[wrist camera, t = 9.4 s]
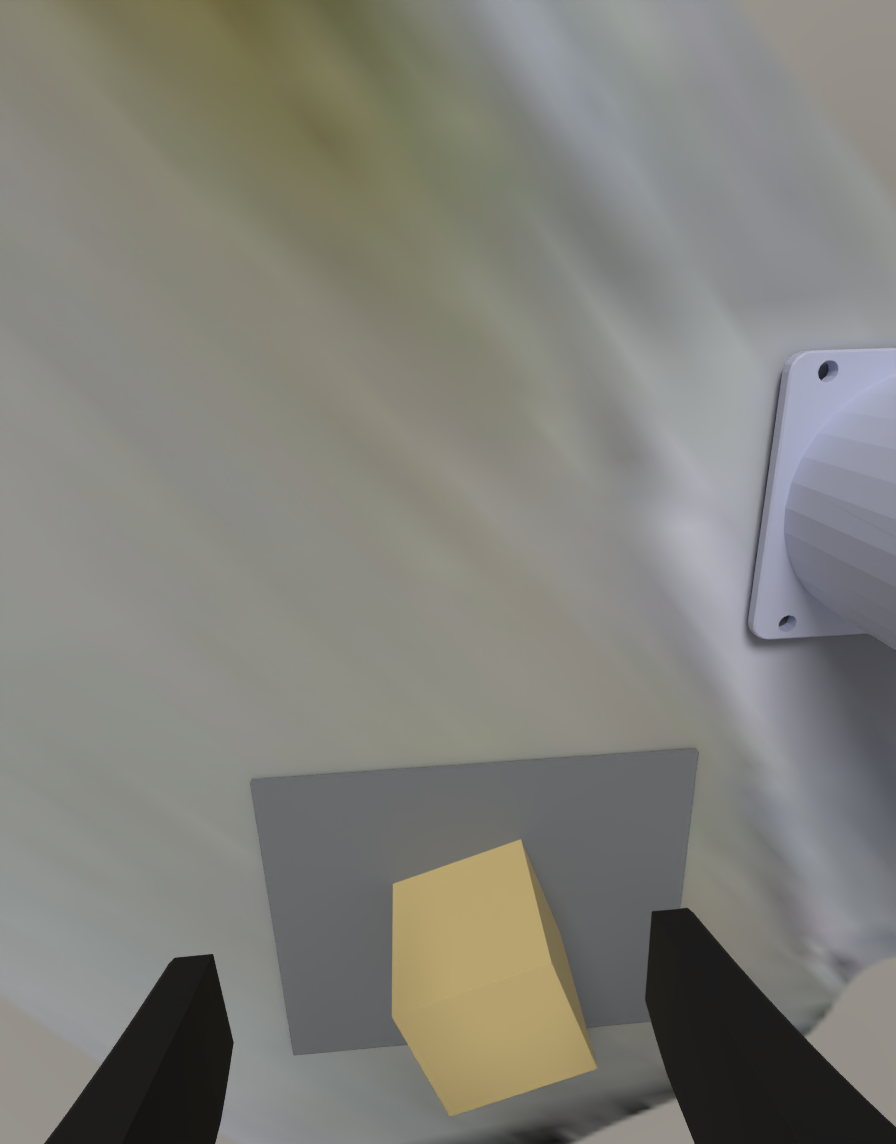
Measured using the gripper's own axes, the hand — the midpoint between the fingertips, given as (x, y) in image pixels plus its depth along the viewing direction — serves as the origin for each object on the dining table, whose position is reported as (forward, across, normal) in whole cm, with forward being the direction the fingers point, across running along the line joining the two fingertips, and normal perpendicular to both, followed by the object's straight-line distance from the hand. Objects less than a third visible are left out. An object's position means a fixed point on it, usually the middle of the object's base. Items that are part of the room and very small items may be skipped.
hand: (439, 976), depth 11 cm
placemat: (+9, -2, +9) cm, 13 cm away
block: (+9, -1, +8) cm, 12 cm away
